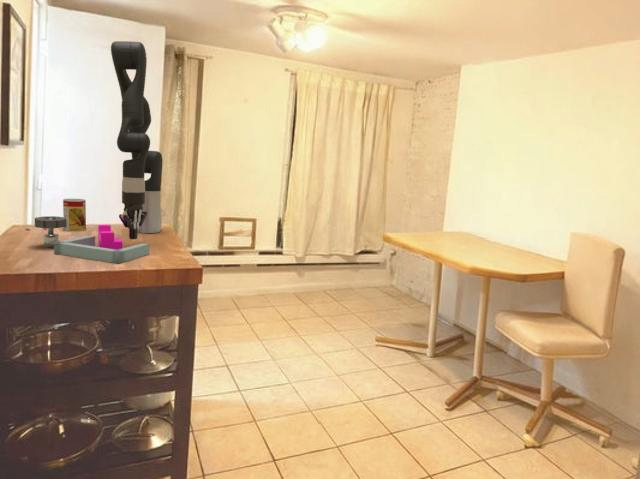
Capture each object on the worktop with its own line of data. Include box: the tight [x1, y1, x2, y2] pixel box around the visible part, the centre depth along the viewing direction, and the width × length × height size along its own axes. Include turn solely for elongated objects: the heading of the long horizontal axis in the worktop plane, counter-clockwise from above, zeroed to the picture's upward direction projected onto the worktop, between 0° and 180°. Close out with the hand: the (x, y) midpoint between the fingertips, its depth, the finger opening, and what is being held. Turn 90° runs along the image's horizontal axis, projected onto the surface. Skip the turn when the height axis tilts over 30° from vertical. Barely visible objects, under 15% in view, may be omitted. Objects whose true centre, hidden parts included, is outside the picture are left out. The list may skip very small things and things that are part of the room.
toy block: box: [97, 224, 123, 250], centre depth 158 cm, size 15×6×8 cm, turn 29°
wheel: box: [34, 215, 66, 229], centre depth 155 cm, size 9×9×2 cm
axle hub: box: [42, 218, 60, 249], centre depth 156 cm, size 4×4×10 cm
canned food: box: [62, 198, 87, 232], centre depth 186 cm, size 8×8×12 cm
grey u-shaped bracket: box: [53, 235, 150, 264], centre depth 152 cm, size 15×24×4 cm, turn 75°
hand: (133, 238), depth 166 cm, fingers closed
